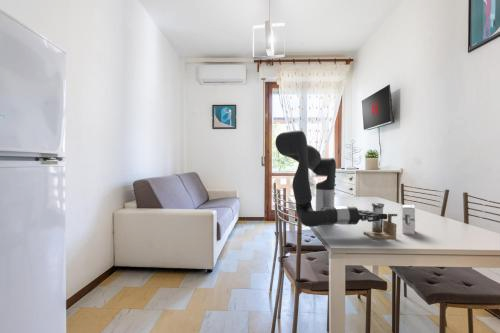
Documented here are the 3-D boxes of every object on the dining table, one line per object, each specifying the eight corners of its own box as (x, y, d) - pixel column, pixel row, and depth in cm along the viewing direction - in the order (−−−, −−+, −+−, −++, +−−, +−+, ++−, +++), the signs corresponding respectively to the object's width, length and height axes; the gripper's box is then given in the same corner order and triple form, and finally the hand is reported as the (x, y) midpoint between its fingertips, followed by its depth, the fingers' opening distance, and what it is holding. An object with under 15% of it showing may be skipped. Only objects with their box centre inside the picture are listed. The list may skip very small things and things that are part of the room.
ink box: (402, 229, 134) (403, 204, 133) (415, 230, 131) (415, 205, 131) (401, 233, 126) (402, 206, 126) (414, 235, 124) (415, 207, 123)
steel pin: (369, 230, 123) (369, 202, 123) (379, 230, 124) (380, 203, 123) (374, 233, 119) (375, 204, 118) (385, 233, 119) (386, 204, 119)
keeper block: (363, 233, 125) (364, 212, 125) (390, 233, 126) (391, 212, 126) (372, 238, 117) (373, 215, 117) (401, 238, 118) (402, 215, 118)
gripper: (352, 209, 113) (394, 209, 114) (338, 203, 127) (375, 204, 128) (352, 228, 113) (393, 228, 114) (338, 220, 127) (375, 220, 128)
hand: (383, 215), depth 121 cm, fingers closed on steel pin, 4 cm apart
